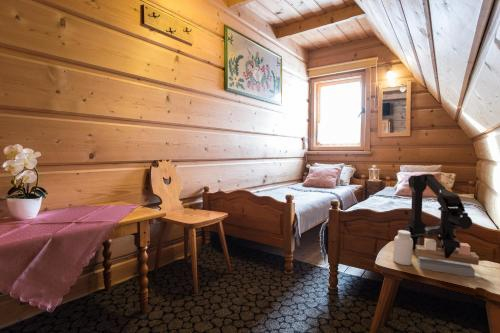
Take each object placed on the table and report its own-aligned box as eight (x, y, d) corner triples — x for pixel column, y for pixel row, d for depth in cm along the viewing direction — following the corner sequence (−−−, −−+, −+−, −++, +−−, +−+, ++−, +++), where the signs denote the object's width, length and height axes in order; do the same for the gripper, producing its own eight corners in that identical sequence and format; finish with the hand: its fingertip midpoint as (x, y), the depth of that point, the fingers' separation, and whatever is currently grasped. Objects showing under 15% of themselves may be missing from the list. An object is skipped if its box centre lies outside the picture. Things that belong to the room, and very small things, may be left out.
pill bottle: (414, 266, 131) (416, 235, 130) (395, 264, 133) (397, 233, 131) (408, 259, 139) (410, 229, 138) (390, 257, 141) (392, 228, 139)
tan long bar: (415, 251, 135) (415, 244, 135) (474, 260, 127) (474, 252, 126) (417, 256, 130) (417, 248, 130) (478, 265, 121) (479, 257, 121)
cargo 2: (455, 250, 128) (456, 242, 128) (466, 252, 127) (467, 243, 126) (458, 254, 124) (459, 245, 124) (469, 255, 123) (470, 246, 123)
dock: (417, 261, 136) (418, 255, 136) (468, 269, 129) (468, 263, 128) (420, 268, 129) (420, 262, 129) (474, 277, 121) (474, 270, 121)
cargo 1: (424, 246, 133) (424, 238, 133) (433, 247, 132) (434, 239, 131) (425, 249, 129) (426, 240, 129) (435, 250, 128) (436, 242, 127)
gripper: (423, 214, 138) (421, 245, 140) (430, 225, 121) (428, 260, 123) (450, 217, 134) (448, 249, 136) (462, 229, 117) (459, 265, 119)
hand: (445, 255), depth 128 cm, fingers closed on tan long bar, 5 cm apart
